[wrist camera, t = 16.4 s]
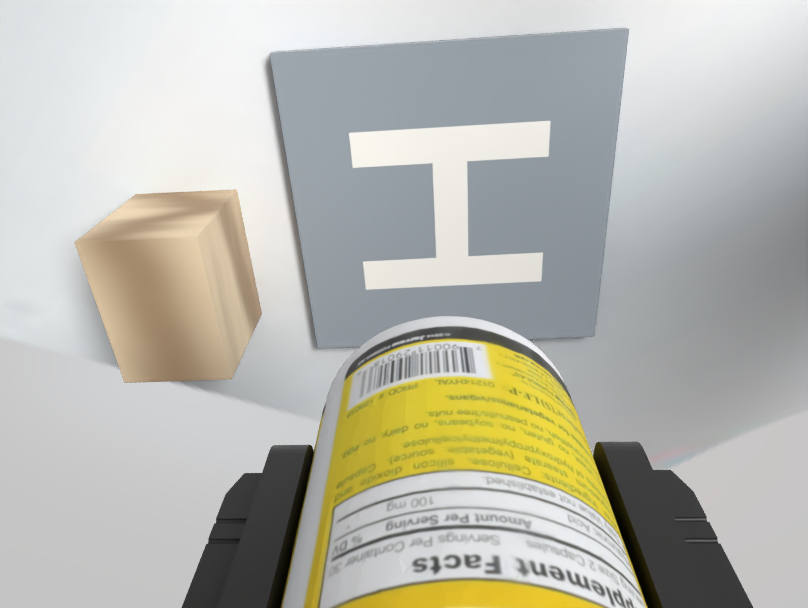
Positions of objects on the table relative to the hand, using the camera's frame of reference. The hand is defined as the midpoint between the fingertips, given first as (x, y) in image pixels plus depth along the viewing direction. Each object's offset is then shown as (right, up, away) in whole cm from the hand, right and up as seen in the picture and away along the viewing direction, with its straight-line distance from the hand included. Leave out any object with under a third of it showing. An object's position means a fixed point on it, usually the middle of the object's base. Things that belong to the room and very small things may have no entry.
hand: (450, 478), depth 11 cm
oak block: (-11, +6, +19) cm, 23 cm away
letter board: (+1, +8, +17) cm, 19 cm away
